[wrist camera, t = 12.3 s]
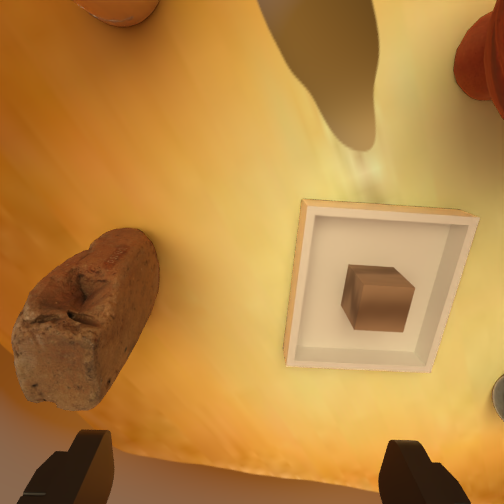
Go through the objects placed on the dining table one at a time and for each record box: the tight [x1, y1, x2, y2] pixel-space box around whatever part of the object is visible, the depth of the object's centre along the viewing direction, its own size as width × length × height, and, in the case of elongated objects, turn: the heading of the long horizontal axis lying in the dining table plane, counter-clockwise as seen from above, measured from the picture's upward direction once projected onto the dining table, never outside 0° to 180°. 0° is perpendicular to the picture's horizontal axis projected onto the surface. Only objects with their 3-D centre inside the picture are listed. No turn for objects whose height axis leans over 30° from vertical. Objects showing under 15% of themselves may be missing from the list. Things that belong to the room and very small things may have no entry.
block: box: [12, 228, 159, 411], centre depth 35 cm, size 11×8×20 cm
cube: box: [341, 264, 415, 333], centre depth 42 cm, size 6×6×6 cm
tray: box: [283, 199, 480, 373], centre depth 44 cm, size 22×20×4 cm
